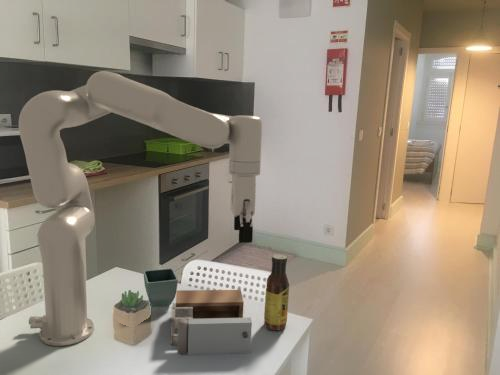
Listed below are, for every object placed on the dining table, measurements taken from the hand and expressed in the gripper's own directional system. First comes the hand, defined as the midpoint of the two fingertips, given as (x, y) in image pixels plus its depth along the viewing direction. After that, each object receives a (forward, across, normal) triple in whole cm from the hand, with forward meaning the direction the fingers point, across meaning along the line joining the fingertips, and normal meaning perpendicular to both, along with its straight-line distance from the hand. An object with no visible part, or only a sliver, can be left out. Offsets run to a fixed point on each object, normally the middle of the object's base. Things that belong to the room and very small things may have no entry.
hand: (242, 235), depth 103 cm
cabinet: (+27, -8, -8) cm, 29 cm away
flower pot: (+27, -18, -22) cm, 39 cm away
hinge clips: (+27, -1, -15) cm, 31 cm away
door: (+27, +7, -7) cm, 29 cm away
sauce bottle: (+27, -4, +10) cm, 29 cm away
